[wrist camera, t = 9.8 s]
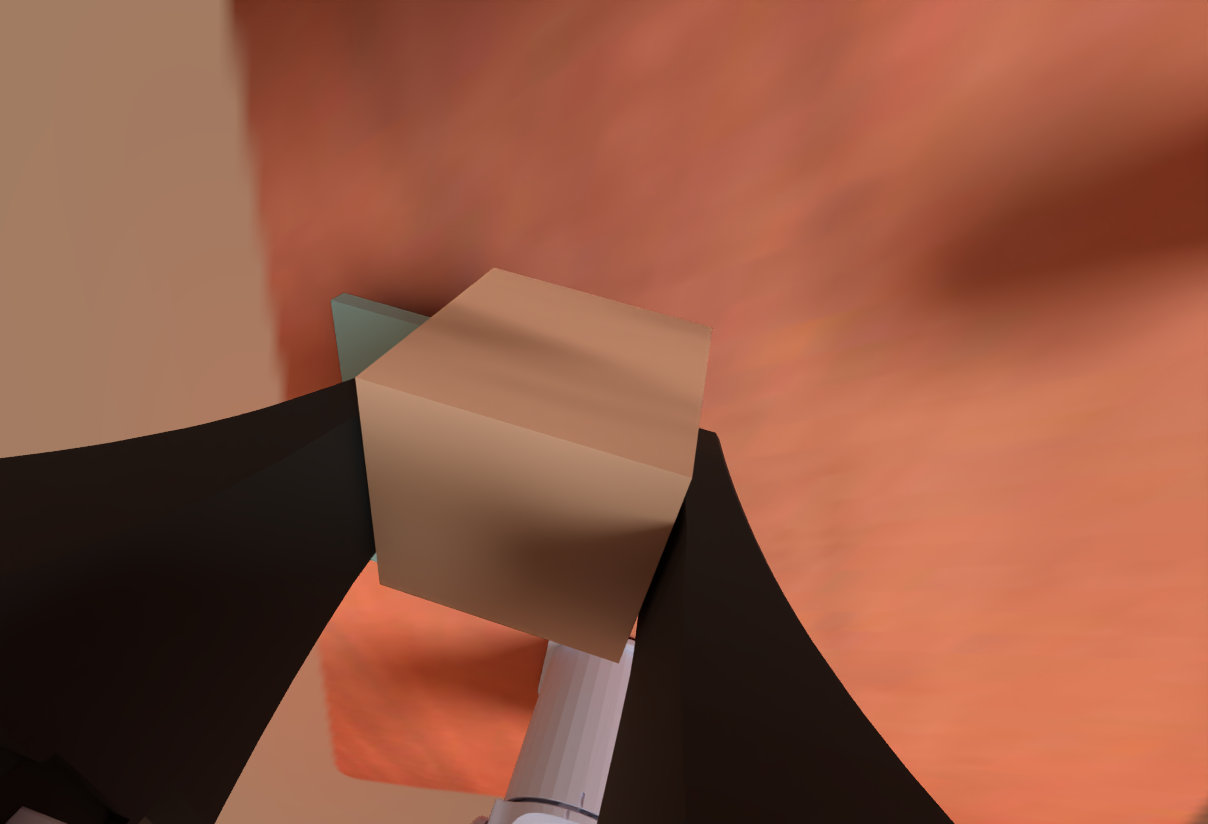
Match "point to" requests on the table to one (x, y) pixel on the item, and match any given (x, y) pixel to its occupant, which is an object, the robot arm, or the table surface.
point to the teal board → (368, 332)
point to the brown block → (533, 456)
